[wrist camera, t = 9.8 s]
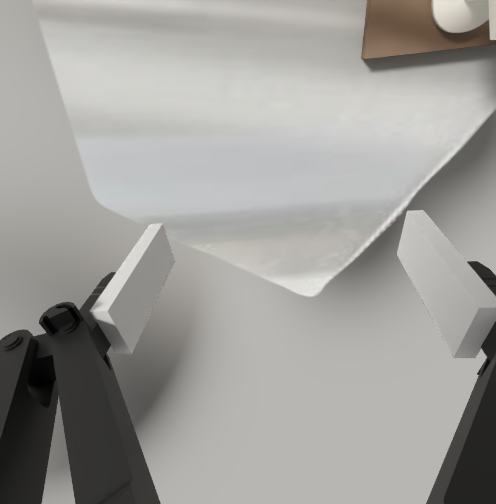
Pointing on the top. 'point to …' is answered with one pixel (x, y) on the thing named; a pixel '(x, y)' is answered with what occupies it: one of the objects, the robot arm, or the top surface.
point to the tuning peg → (464, 15)
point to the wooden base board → (412, 30)
